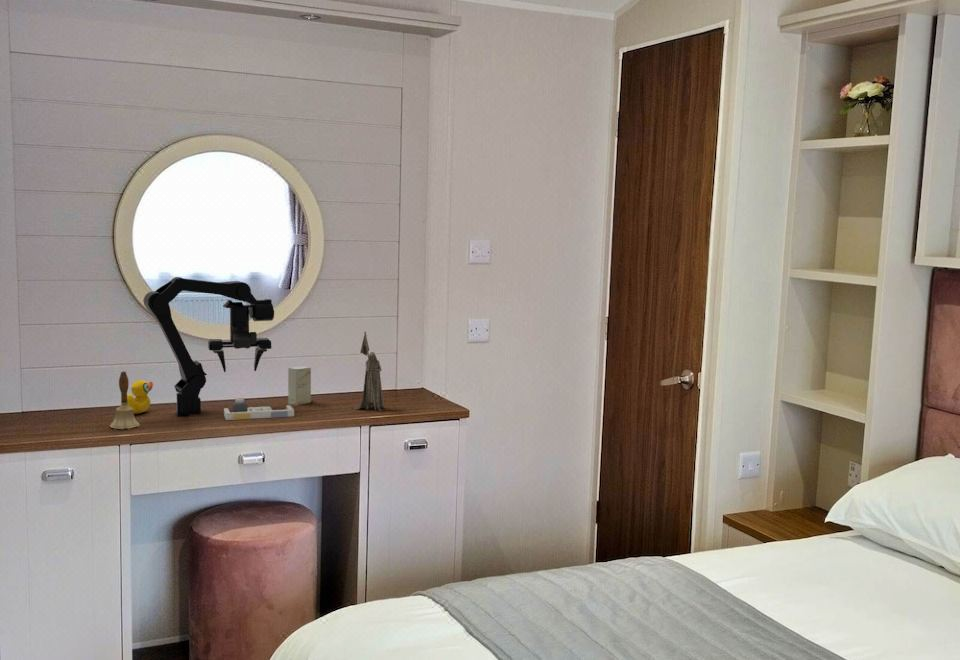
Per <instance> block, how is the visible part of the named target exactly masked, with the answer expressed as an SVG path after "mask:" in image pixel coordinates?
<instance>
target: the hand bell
mask: <svg viewBox="0 0 960 660" xmlns="http://www.w3.org/2000/svg"><path fill="white" fill-rule="evenodd" d="M129 384H130V383H129V377H128V374H127V371H125V370H124V371H121V372H120V376H119V379H118V387H119V391H120V395H121V398H120V400H121V401H120V406H118V407H116V409H115V416H114V419H113V421H112V422H111V424H110V425H109V426H110V427H111V428H118V429H124V428H132V427H136V426H139V425H140V426H141V424H140V423H139V422H138V421H137V419H136V418H135V414H133V408H132V407H130V406H128V403H127V402H128V401H127V394H128V390H129V386H130V385H129ZM111 428H110V429H111Z"/></svg>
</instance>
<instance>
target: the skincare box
mask: <svg viewBox="0 0 960 660" xmlns="http://www.w3.org/2000/svg"><path fill="white" fill-rule="evenodd" d="M311 368H312V367H310V366H304V365H300V366H294V367H288V370H287V373H288V374H287V375H288V376H287V377H288V379H287V382H288V388H287V391H288V392H287V396H288V397H287V399H288V400H287V403H288V405H295V406H301V405H305V404H309V403H311V402H312V379H311V378H312V377H311V376H312V375H311V374H312V372H311V371H312V369H311Z"/></svg>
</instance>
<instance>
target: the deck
mask: <svg viewBox="0 0 960 660" xmlns="http://www.w3.org/2000/svg"><path fill="white" fill-rule="evenodd" d="M253 407H254V408H255V410H256V411H261V407H262V406H257V407H256V406H253ZM265 407H266V409H267V410H273V408H272V407H271V406H265ZM249 411H250V407H247V412H249Z"/></svg>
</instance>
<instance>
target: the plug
mask: <svg viewBox="0 0 960 660" xmlns="http://www.w3.org/2000/svg"><path fill="white" fill-rule="evenodd" d="M234 399H235V400H234V401H232V403H231V405H232V406H231V407H232V408H231V410H232V412H247V408H248V403H247V401H245V397H236V398H234Z"/></svg>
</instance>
